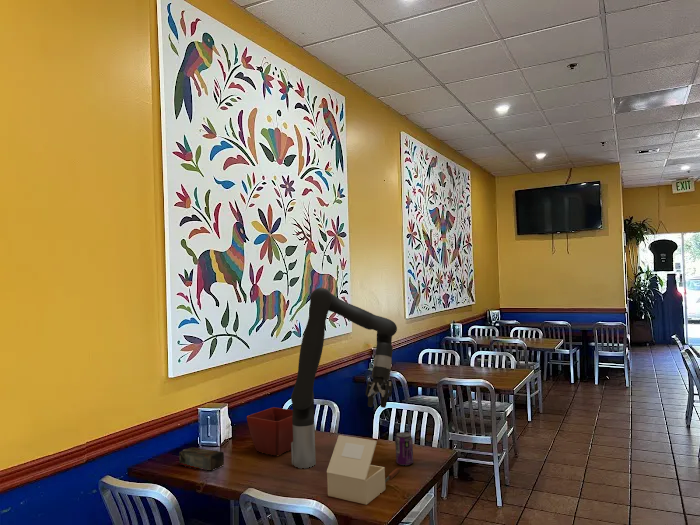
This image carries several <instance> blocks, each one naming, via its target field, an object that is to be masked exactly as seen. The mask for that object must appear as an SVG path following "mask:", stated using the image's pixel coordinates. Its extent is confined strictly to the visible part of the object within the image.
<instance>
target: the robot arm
mask: <svg viewBox="0 0 700 525" xmlns="http://www.w3.org/2000/svg"><path fill="white" fill-rule="evenodd" d="M329 312H332V313H334V314H336V315H339V316H341V317H343V318H344V319H346V320H348V321H350V322H352V323H353V324H355V325H357V326H359V327H361V328H364V329H366V330H373V331H376V348H375V354H374V358H373V363H372V371H371V378H372V381H367V384H366V389H365V396H367V398H368V399H367V408H368V407H370V408H372V407H374V399H375V397H376V395H377V394H378V393H380V395H381V399H380V408H382V409H383V408H386V406H387V401H388V399H389V397H392V393H393V381H390V377H391V368H392V356H393V350H394V349H393V348H394V347H393V345H392V339H393V336H395V334H396V333H397V331H398V326H397V324H396V322H394V321H393V320H391V319H389V318H386V317H384V316H380V315H376V314H374V313H372V312H370V311H367V310H365V309H363V308H361V307H358V306H356V305H354V304H351V303H349V302H346V301H344V300H343V299H340V298H339V297H337V296H336V295H334V294H333V293H331V292H330V291H329V290H328V289H326V288H324V287H318V288H315V289H314V290H313V291H312V292H311V294H310V297H309V311H308V319H307V323H306V326H305V329H304V332H303V335H302V340H301V344H300V349H299V356H298V357H299V358H298V368H297V377H296V381H295V384H294V388H293V390H292V392H291V398H290V400H291V403H292V410H293V416H292V424H293V442H291V450H290V451H291V466H293V465H294V466H295V468H296V467H298V469H302V468H304V469H310V468H313V467H314V465H315V466H316V464H317V463H316V440H315V439H316V437H315V436H316V434H315V432H316V431H315V394H314V386H315V385H314V384H315V379H316V374H317V372H318V368H319V366H320V362H321V358H322V353H323V350H324V349H323V348H324V342H325V332H326V331H325V330H326V323H327V317H328V314H329ZM294 466H293V467H294ZM312 466H313V467H312ZM309 467H310V468H309Z"/></svg>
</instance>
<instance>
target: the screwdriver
mask: <svg viewBox="0 0 700 525" xmlns="http://www.w3.org/2000/svg"><path fill="white" fill-rule="evenodd" d="M400 470H401V469H400V468H399V467H396V468H395V469H393V470H392V471H391V472H390V473H389V474H387V477H385V484H386V483H387V482H388V481H391V480H393V479H394V477H396V476H397V475H398V474H399V473H400Z"/></svg>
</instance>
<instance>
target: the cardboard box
mask: <svg viewBox="0 0 700 525" xmlns="http://www.w3.org/2000/svg"><path fill="white" fill-rule="evenodd" d="M385 471H386V467H385V466H381V465H380V466H378V465H374V464H370V468H369V471H368V475H367V478H366V481H365V480H360V479H355V478H350V477H345V476H340V475H335V474H330V473H327V472H326V478H327V479H326V480H327V482H326V483H327V496H328V497H332V498H336V499H340V500H345V501H349V502H354V503H358V504H362V505H368V504H369V503H371V502H372V501H374V499H375V498H377V497H378V496H379V495H380V493H381V494H382V493H383V492H384V491H386V483H385V479H386V472H385Z"/></svg>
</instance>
